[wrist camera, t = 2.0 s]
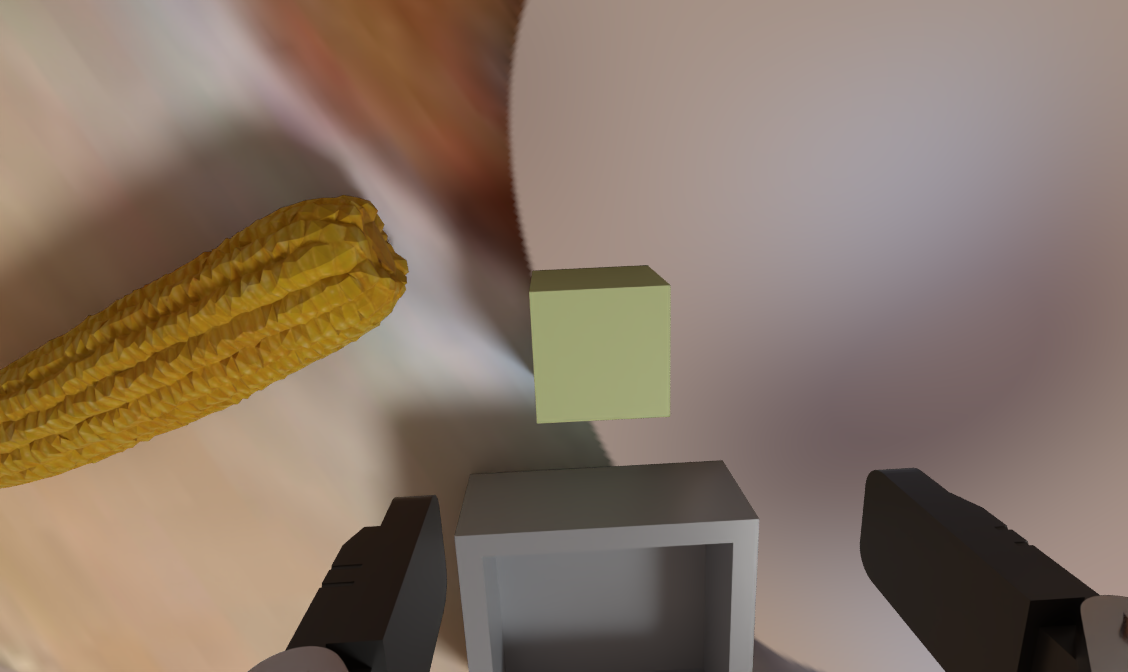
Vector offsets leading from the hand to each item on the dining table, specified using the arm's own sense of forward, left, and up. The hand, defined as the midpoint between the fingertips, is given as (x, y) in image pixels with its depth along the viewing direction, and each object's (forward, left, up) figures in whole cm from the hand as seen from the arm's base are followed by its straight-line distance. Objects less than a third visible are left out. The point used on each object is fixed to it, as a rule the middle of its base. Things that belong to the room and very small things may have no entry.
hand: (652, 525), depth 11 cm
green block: (0, 0, -16) cm, 16 cm away
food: (+17, 0, -16) cm, 23 cm away
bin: (0, +13, -16) cm, 20 cm away
